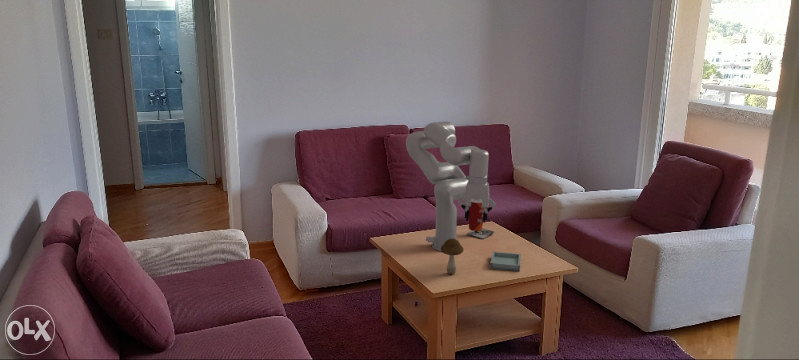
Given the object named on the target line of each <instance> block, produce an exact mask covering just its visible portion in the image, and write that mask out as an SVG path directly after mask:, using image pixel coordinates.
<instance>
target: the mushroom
mask: <svg viewBox="0 0 799 360" xmlns="http://www.w3.org/2000/svg"><path fill="white" fill-rule="evenodd" d="M464 249H465V248H464V247H463V246H462V244H461V243H460V241H459V240H458V239H457V238H456V239H453V238H451V239H448V240H447V241H446V242H445V243H444V245H442V246H441V251H440V252H442V253H443V254H445V255H447V256H449V259H448V262H447V265H446V272H447V274H449V275H454V274H456V273H457V266H456V265H457V264H456V260H455V256H458V255H462V253H463V252H464Z"/></svg>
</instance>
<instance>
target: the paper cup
mask: <svg viewBox="0 0 799 360" xmlns="http://www.w3.org/2000/svg"><path fill="white" fill-rule="evenodd" d="M470 202H471V207H469V208H468V210H469V219H468V230H470V231H480V230H482V228H483V226H484V222H483V219H484V212H485V211H484V208H482V207H481V206H482V203H483V202H482V199H471V201H470Z"/></svg>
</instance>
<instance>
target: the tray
mask: <svg viewBox="0 0 799 360" xmlns="http://www.w3.org/2000/svg"><path fill="white" fill-rule="evenodd" d="M521 259H522V254H521V253H516V252H515V253H513V252H503V251H502V252H501V251H492V255H491V258H490V262H489V263H490V266H489V269H490V270H500V271H511V272H513V271H514V272H520V271H521V270H520V269H521V261H522V260H521Z"/></svg>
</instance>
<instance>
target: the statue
mask: <svg viewBox="0 0 799 360" xmlns="http://www.w3.org/2000/svg"><path fill="white" fill-rule="evenodd" d="M494 233H495V231H494V230H490V229H487V228H484V227H482V230H480V231H472V230H470V231H469V232H466V234H467V236H468V237H470V236H472V237H475V238H480V239H482V240H485V239H487V238H488V237H490V236H493V234H494Z"/></svg>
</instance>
